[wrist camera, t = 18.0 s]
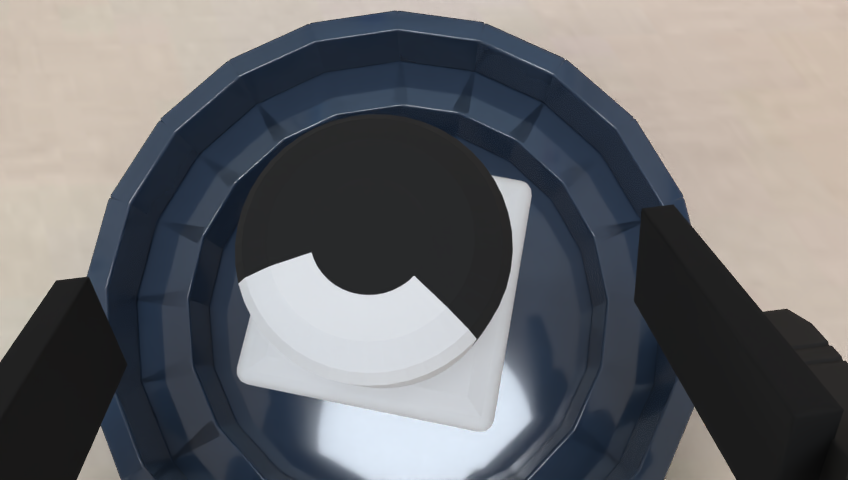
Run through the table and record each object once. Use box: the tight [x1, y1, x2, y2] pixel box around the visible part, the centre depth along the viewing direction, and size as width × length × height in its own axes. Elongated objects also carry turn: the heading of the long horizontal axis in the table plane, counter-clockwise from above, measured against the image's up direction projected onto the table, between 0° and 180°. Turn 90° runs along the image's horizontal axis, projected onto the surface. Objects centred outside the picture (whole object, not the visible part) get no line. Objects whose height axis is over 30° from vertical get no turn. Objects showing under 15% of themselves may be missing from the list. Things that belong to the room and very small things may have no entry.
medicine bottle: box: [235, 114, 532, 432], centre depth 20 cm, size 7×7×12 cm
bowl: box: [87, 11, 694, 480], centre depth 24 cm, size 20×20×5 cm
